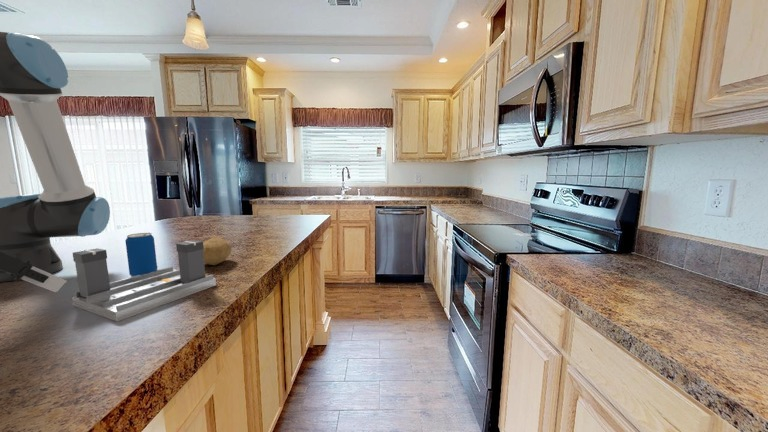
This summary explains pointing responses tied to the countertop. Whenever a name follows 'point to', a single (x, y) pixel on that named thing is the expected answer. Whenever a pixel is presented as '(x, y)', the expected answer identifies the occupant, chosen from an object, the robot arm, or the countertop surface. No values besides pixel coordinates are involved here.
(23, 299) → the countertop surface
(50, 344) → the countertop surface
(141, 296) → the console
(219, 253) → the potato
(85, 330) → the countertop surface
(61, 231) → the robot arm
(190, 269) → the fader far
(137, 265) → the beverage can
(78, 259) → the fader near
